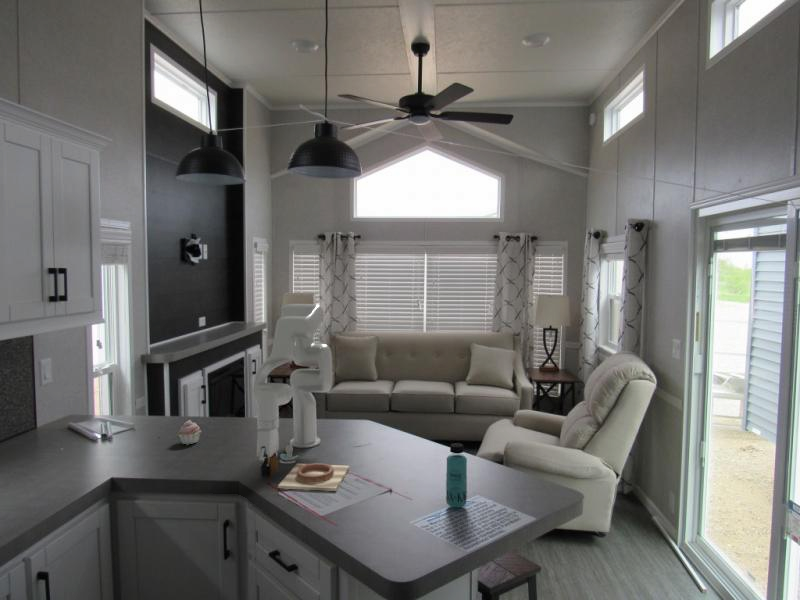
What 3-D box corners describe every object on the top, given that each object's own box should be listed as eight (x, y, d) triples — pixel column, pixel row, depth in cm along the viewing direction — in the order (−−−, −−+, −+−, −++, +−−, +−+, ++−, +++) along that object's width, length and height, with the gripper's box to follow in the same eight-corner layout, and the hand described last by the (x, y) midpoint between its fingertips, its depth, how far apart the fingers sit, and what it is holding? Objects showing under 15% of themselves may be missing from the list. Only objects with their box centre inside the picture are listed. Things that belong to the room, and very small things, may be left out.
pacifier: (293, 465, 203) (300, 459, 209) (293, 449, 202) (299, 444, 208) (276, 464, 205) (283, 458, 211) (275, 448, 204) (282, 442, 210)
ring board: (297, 466, 201) (296, 458, 201) (349, 468, 199) (349, 460, 198) (278, 488, 182) (278, 479, 181) (336, 491, 179) (336, 482, 179)
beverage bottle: (444, 503, 170) (444, 441, 168) (465, 502, 170) (465, 440, 169) (447, 512, 163) (447, 448, 162) (469, 511, 164) (469, 447, 162)
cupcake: (206, 441, 231) (205, 418, 230) (187, 448, 223) (186, 424, 222) (192, 438, 236) (191, 415, 235) (173, 444, 228) (172, 421, 227)
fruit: (263, 480, 189) (262, 458, 188) (259, 474, 194) (258, 452, 193) (280, 476, 191) (280, 454, 191) (276, 470, 197) (275, 449, 196)
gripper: (267, 415, 200) (268, 462, 202) (248, 430, 183) (249, 482, 185) (286, 416, 199) (287, 463, 201) (269, 431, 182) (270, 483, 184)
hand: (269, 472), depth 193 cm, fingers closed on fruit, 6 cm apart
